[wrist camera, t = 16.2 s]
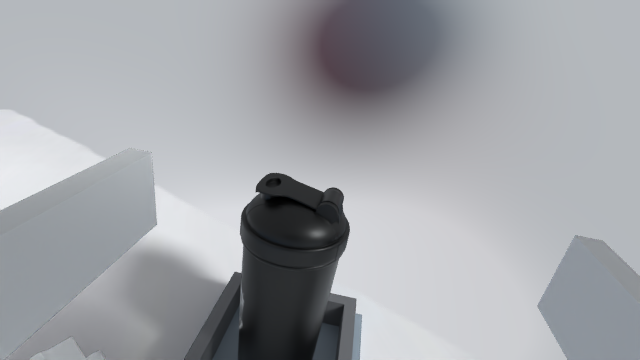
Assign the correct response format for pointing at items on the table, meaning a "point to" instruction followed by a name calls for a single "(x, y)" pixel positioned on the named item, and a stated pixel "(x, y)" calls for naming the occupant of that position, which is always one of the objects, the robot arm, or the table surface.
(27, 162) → the table surface
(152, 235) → the table surface
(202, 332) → the walled base tray
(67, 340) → the mounting bracket
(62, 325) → the table surface
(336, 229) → the water bottle
